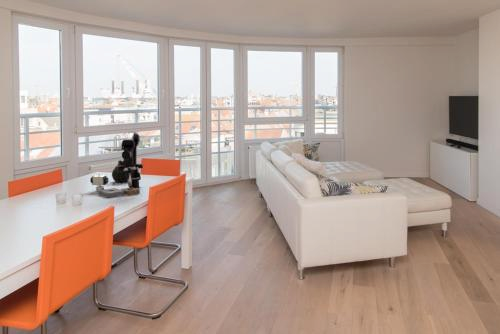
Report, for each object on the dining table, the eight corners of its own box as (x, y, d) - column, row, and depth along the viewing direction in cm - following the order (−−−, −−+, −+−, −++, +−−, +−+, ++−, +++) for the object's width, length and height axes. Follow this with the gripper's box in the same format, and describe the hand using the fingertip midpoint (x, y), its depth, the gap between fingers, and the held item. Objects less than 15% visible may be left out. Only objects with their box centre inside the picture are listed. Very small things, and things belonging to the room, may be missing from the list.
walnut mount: (132, 191, 309) (132, 187, 308) (139, 193, 302) (139, 189, 301) (120, 193, 303) (120, 189, 302) (128, 195, 296) (127, 191, 295)
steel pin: (130, 185, 303) (130, 173, 302) (132, 185, 301) (131, 173, 300) (127, 185, 301) (126, 173, 300) (129, 186, 300) (128, 174, 298)
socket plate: (114, 191, 307) (114, 187, 306) (124, 195, 297) (124, 190, 297) (98, 194, 298) (98, 190, 298) (108, 197, 289) (108, 193, 288)
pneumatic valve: (106, 191, 307) (105, 175, 305) (90, 191, 309) (89, 174, 307) (109, 190, 313) (108, 173, 311) (94, 189, 314) (93, 173, 312)
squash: (132, 176, 336) (130, 160, 344) (112, 178, 332) (110, 162, 339) (132, 185, 348) (130, 170, 355) (113, 187, 343) (111, 171, 351)
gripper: (134, 155, 310) (135, 176, 313) (110, 157, 297) (111, 179, 300) (142, 156, 302) (143, 178, 305) (118, 159, 289) (119, 181, 292)
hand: (129, 179), depth 301 cm, fingers closed on steel pin, 2 cm apart
